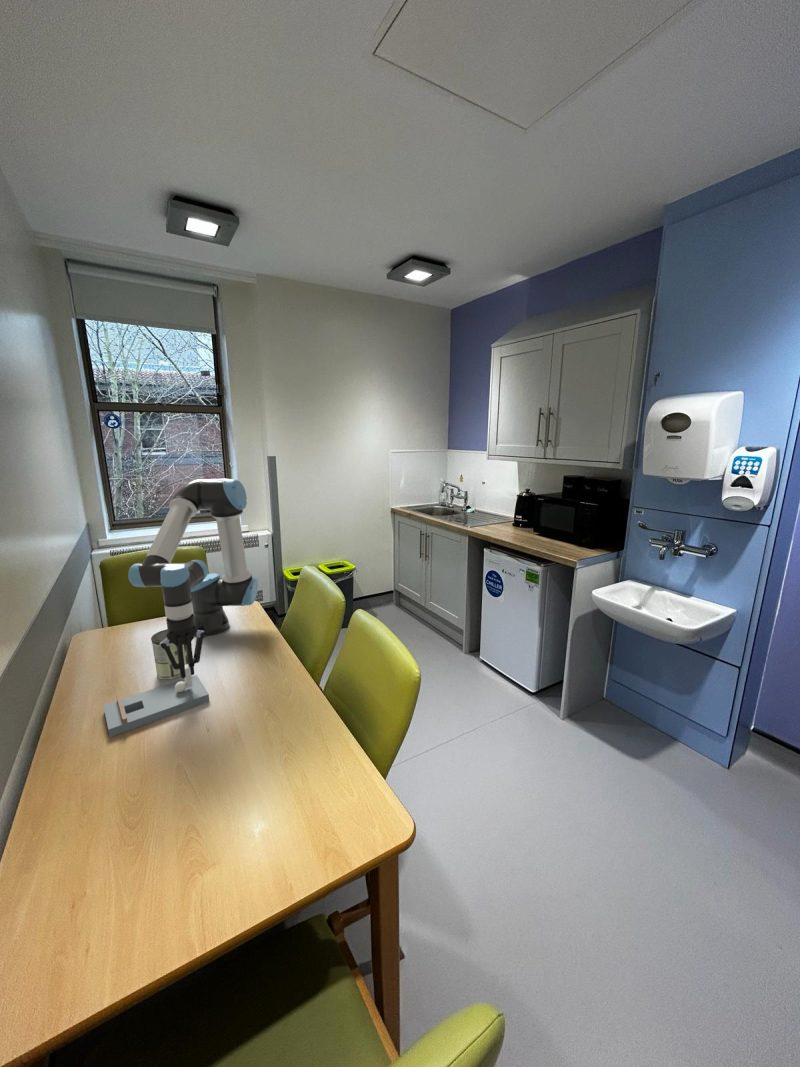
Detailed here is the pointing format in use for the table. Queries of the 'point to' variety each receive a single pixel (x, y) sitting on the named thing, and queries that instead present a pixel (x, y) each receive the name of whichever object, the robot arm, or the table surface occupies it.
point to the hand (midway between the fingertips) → (188, 685)
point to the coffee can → (166, 657)
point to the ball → (180, 686)
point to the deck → (152, 705)
